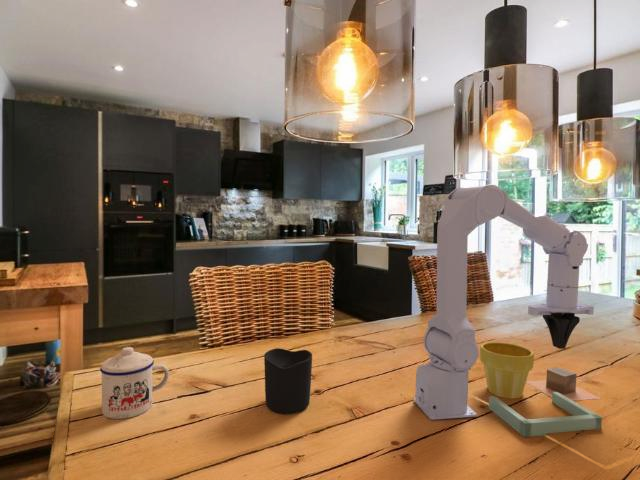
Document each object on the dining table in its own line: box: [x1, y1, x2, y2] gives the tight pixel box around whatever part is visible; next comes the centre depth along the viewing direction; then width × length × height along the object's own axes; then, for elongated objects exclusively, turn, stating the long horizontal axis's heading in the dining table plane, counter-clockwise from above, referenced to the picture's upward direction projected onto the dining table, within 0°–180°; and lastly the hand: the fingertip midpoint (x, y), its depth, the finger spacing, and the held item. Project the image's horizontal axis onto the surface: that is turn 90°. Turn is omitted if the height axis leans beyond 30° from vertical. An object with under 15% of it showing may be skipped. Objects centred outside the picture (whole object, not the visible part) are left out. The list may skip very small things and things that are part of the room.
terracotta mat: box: [525, 379, 601, 402], centre depth 85 cm, size 10×10×1 cm
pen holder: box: [263, 347, 313, 415], centre depth 76 cm, size 9×9×10 cm
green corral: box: [488, 392, 603, 438], centre depth 73 cm, size 15×10×2 cm, turn 100°
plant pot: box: [479, 341, 535, 400], centre depth 84 cm, size 10×10×10 cm
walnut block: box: [545, 366, 577, 395], centre depth 85 cm, size 4×4×4 cm
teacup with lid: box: [99, 346, 170, 420], centre depth 74 cm, size 12×9×12 cm
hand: (559, 347), depth 84 cm, fingers closed
